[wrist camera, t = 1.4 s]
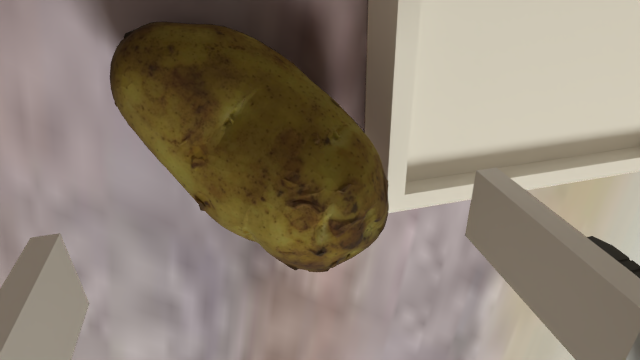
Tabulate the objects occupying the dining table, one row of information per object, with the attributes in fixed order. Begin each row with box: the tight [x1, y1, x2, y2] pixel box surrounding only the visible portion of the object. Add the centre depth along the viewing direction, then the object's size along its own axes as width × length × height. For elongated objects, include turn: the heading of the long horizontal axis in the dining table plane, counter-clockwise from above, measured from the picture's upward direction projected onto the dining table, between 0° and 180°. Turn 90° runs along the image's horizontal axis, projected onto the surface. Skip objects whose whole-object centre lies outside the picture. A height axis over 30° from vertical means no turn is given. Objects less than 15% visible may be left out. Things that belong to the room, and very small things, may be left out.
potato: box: [110, 22, 389, 272], centre depth 19 cm, size 8×13×8 cm, turn 29°
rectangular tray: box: [365, 0, 640, 213], centre depth 21 cm, size 18×18×4 cm
